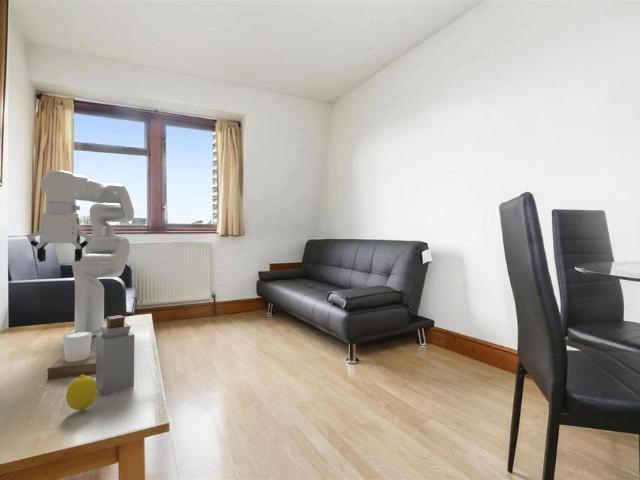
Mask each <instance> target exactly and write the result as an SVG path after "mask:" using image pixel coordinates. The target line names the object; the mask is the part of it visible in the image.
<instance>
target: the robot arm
mask: <svg viewBox="0 0 640 480" xmlns="http://www.w3.org/2000/svg"><path fill="white" fill-rule="evenodd" d="M40 189H41V190H42V192H43V193H44V194H45V212H42V213H43V214H42V216H41V220H40V221H41V222H40V227H39V230H37V231H34V232H32V233H30V234H27V235H26V239H28V241H29V242H30V244H31V245H32V246H33V247H34V248H35V249H36V251H37V252H36V253H37V254H36V258H37V260H38V262H41V263H42V262H45V261H46V259H47V258H46V255H47V253H46V251H47V250H46V248H45V247H46V246H47V245H48V244H72V245H73V246H74V247H75V249H74V258H73V260H72V264H71V267H72V268H71V269H72V273H73V278H74V329H72V330H71V331H70V332H69V334H70V333H75V332H92V337H96V335H97V334H102V331H101V327H100V326H103V325H105V324H104V322H105V287H104V285H103V283H102V282H101V281H100V279H99V278H118V277H120V276H121V275H122V274H123V272H124V270H125V267H126V265H127V262H128V258H129V254H130V253H131V252H130V251H131V244H130V241H129V239H128V238H127V237H126V236H125V237H124V236H119V235H116V231H115V229H114V228H113V226H111V225H110V224H109V223H110V222H111V223H113V222H114V223H128V222H131V221H133V219H134V216H135V210H134V207H133V202H132V201H131V200H132V199H131V197H130V194H129V191H128V190H127V188H126V186H125V185H123V184H120V183H108V182H107V183H105V182H99V181H96V180H94V179H90V178H88V177H86V176H84V175H82V174H81V175H80V174H74V173H73V172H70V171H66V170H57V169H54V170H49V171H47V172H46V174H45V175H43V176H42V178H41V180H40ZM76 200H77V201H84V202H85V201H86V202H91V203H93V204H92V205H91V206H90V209H89V220H90V223H91V227H92V228H91V229H92V232H91V235H90V234H88V233H86V232H84V231H81V222H80V217H79V214H78V213H76V212H77V211H80V210H81V207H80V206H79V205H76ZM108 222H109V223H108ZM38 236H39V241H40V242H38V240H36V238H37V237H38ZM82 237H83V238H84V240H83V241H82V242H81V240H82ZM84 248H85V249H84ZM83 249H84V250H85V251H84V252H85V253H83Z"/></svg>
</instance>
